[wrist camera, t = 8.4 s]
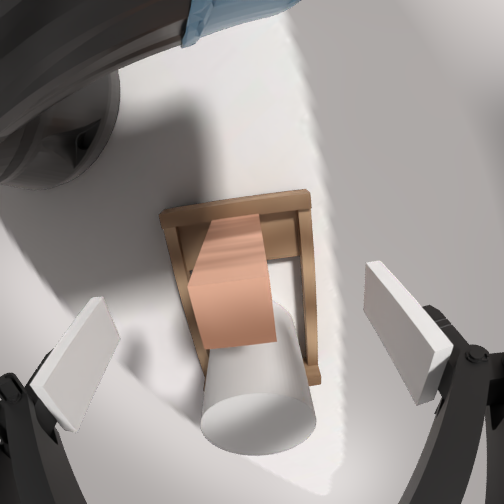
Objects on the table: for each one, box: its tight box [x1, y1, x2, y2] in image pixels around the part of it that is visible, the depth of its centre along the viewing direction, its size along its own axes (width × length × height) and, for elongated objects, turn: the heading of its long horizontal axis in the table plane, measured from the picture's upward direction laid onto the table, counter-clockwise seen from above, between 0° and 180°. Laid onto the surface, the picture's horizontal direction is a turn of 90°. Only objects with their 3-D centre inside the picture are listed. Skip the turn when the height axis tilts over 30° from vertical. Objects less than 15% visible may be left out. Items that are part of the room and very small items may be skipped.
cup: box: [200, 300, 316, 456], centre depth 24 cm, size 8×8×12 cm
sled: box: [159, 189, 321, 391], centre depth 22 cm, size 19×12×13 cm, turn 8°
